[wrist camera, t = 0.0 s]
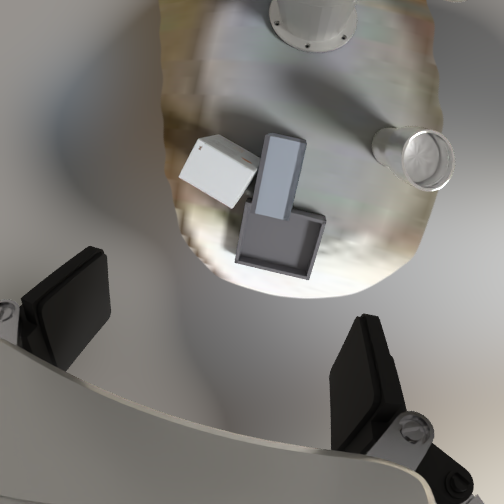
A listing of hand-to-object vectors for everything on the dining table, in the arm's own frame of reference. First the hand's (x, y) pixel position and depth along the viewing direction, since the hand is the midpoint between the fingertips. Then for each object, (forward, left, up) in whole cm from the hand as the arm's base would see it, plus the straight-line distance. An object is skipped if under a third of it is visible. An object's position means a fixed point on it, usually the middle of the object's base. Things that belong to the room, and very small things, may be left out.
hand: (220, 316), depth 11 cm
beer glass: (-7, +15, -37) cm, 40 cm away
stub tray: (+11, +2, -37) cm, 38 cm away
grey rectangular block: (+1, 0, -37) cm, 37 cm away
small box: (+1, -7, -37) cm, 38 cm away
